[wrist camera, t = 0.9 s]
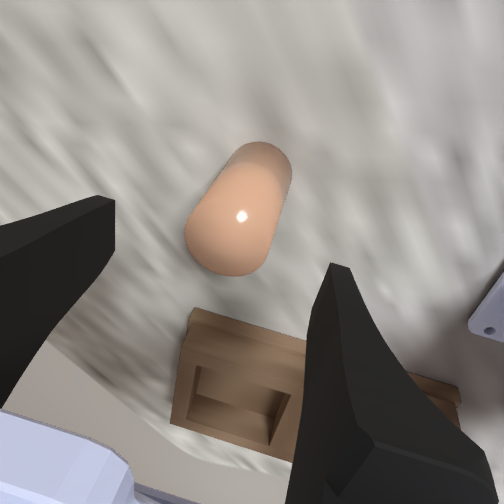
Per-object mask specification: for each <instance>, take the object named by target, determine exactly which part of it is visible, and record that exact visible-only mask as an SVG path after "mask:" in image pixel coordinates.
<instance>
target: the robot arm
mask: <svg viewBox="0 0 504 504" xmlns="http://www.w3.org/2000/svg"><path fill="white" fill-rule="evenodd" d="M114 251H115V200H113V199H109V198H106V197H103V196H99V195H96V196H92V197H89V198H85V199H82V200H79V201H76V202H74V203H71V204H68V205H65V206H62V207H59V208H56V209H53V210H50V211H48V212H45V213H42V214H39V215H35V216H32V217H29V218H25V219H22V220H19V221H15V222H12V223H9V224H5V225H1V226H0V504H199V503H196V502H193V501H190V500H187V499H184V498H181V497H177V496H175V495H172V494H168V493H165V492H162V491H159V490H156V489H153V488H150V487H147V486H144V485H141V484H138V483H135V482H134V478H133V475H132V472H131V470H130V467H129V465H128V462H127V461H126V460H125V459H124V458H123V457H121V455H119V454H118V453H117V452H116V451H115V450H114V449H112V448H111V447H109V446H107V445H105V444H102V443H100V442H98V441H96V440H94V439H92V438H90V437H87V436H83V435H80V434H77V433H74V432H71V431H68V430H65V429H62V428H59V427H56V426H52V425H49V424H46V423H43V422H40V421H37V420H34V419H31V418H27V417H24V416H22V415H18V414H15V413H12V412H9V411H6V410H3V409H1V408H2V407H3V405H4V403H5V402H6V400H7V399H8V397H9V395H10V394H11V392H12V390H13V388H14V387H15V385H16V383H17V382H18V380H19V379H20V377H21V376H22V374H23V373H24V371H25V370H26V368H27V367H28V365H29V363H30V362H31V360H32V359H33V357H34V356H35V354H36V353H37V351H38V350H39V348H40V347H41V346H42V344H43V343H44V341H45V340H46V338H47V337H48V335H49V334H50V333H51V331H52V330H53V329H54V327H55V326H56V325H57V324H58V322H59V321H60V320H61V319H62V318H63V316H64V315H65V314H66V313H67V312H68V311H69V310H70V308H71V307H72V306H73V305H74V304H75V303H76V302H77V300H78V299H79V298H80V297H81V296H82V295H83V294H84V292H85V291H86V290H87V289H88V288H89V287H90V285H91V284H92V283H93V282H94V281H95V279H96V278H97V277H98V276H99V275H100V273H101V272H102V270H103V269H104V267H105V266H106V264H107V263H108V261H109V259H110V258H111V256H112V255H113V253H114ZM467 325H468V329H469V331H470V332H471V333H473V334H476V335H479V336H482V337H486V338H489V339H492V340H496V341H499V342H503V343H504V272H503V273H502V275H501V276H500V278H499V279H498V280H497V282H496V283H495V284H494V286H493V287H492V289H491V290H490V291H489V293H488V294H487V295H486V297H485V298H484V300H483V301H482V302H481V304H480V305H479V306H478V308H477V309H476V310H475V312H474V313H473V315H472V316H471V317H470V319H469V320H468V322H467ZM488 327H492V328H491V329H486V328H488ZM498 502H499V500H498V496H497V492H496V489H495V485H494V480H493V477H492V473H491V469H490V467H489V464H488V461H487V458H486V455H485V452H484V451H483V450H482V449H481V448H480V447H479V446H478V445H477V444H476V443H474V442H473V441H472V440H471V439H470V438H469V437H468V436H467V435H466V434H464V433H463V432H462V431H461V430H460V429H459V428H458V427H457V426H456V425H455V424H453V423H452V422H451V421H450V420H449V419H448V418H447V417H446V416H445V415H444V414H443V413H442V412H441V410H440V409H439V408H438V407H437V406H436V405H435V404H434V403H433V402H432V401H431V400H430V399H429V398H428V397H427V396H426V395H425V393H424V392H423V391H422V390H421V389H420V388H419V386H418V385H417V384H416V383H415V382H414V380H413V379H412V378H411V377H410V376H409V374H408V373H407V372H406V371H405V369H404V368H403V367H402V365H401V364H400V363H399V361H398V360H397V358H396V357H395V355H394V354H393V353H392V351H391V350H390V348H389V347H388V345H387V344H386V342H385V341H384V339H383V337H382V336H381V334H380V332H379V330H378V329H377V327H376V325H375V323H374V321H373V319H372V317H371V315H370V313H369V311H368V309H367V307H366V305H365V303H364V301H363V299H362V296H361V294H360V292H359V289H358V287H357V285H356V282H355V280H354V277H353V275H352V272H351V270H350V268H348V267H345V266H341V265H338V264H334V263H331V262H330V265H329V267H328V270H327V272H326V275H325V277H324V280H323V282H322V285H321V287H320V290H319V292H318V295H317V297H316V300H315V302H314V305H313V307H312V311H311V316H310V321H309V326H308V332H307V340H306V356H305V373H304V390H303V402H302V411H301V417H300V423H299V429H298V435H297V441H296V447H295V452H294V458H293V464H292V469H291V474H290V480H289V485H288V490H287V496H286V501H285V504H498Z"/></svg>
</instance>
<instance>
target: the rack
mask: <svg viewBox="0 0 504 504" xmlns="http://www.w3.org/2000/svg"><path fill="white" fill-rule="evenodd" d="M305 356H306V341H304V340H300V339H297V338H294V337H291V336H287V335H284V334H281V333H277V332H274V331H271V330H268V329H264V328H261V327H258V326H255V325H251V324H248V323H245V322H241V321H238V320H235V319H232V318H228V317H225V316H222V315H218V314H215V313H212V312H209V311H205V310H202V309H199V308H194V310H193V312H192V314H191V316H190V318H189V324H188V330H187V336H186V338H185V341H184V343H183V345H182V347H181V351H180V358H179V364H178V371H177V378H176V385H175V392H174V398H173V405H172V412H171V419H170V424H173V425H176V426H179V427H183V428H186V429H189V430H192V431H195V432H198V433H201V434H204V435H207V436H210V437H214V438H217V439H220V440H223V441H226V442H229V443H232V444H235V445H238V446H241V447H245V448H248V449H251V450H254V451H257V452H260V453H263V454H266V455H269V456H272V457H275V458H279V459H282V460H285V461H288V462H291V463H293V458H294V452H295V447H296V441H297V435H298V429H299V423H300V417H301V411H302V402H303V390H304V373H305ZM407 373H408V374H409V376H410V377H411V378H412V379H413V380H414V382H415V383H416V384H417V385H418V386H419V388H420V389H421V390H422V391H423V392H424V393H425V395H426V396H427V397H428V398H429V399H430V400H431V401H432V402H433V403H434V404H435V405H436V406H437V407H438V408H439V409H440V410H441V412H442V413H443V414H444V415H445V416H446V417H447V418H448V419H449V420H450V421H451V422H452V423H453V424H455V425H456V426H457V427H458V428H459V429H460V430H461V428H460V423H459V419H458V415H457V410H456V408H457V407H458V405H459V404H460V403H461V398H460V394H459V390H458V387H455V386H452V385H448V384H445V383H442V382H438V381H435V380H432V379H429V378H425V377H422V376H419V375H415V374H412V373H409V372H407Z"/></svg>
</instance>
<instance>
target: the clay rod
mask: <svg viewBox="0 0 504 504" xmlns="http://www.w3.org/2000/svg"><path fill="white" fill-rule="evenodd" d="M291 180H292V169H291V165H290V162H289V160H288V158H287V157H286V155H285V154H284V153H283V152H282V151H281V150H280V149H278V148H277V147H275V146H273V145H271V144H269V143H265V142H251V143H247V144H245V145H243V146H241V147H240V148H238V149H237V150H236V151H235V153H234V154H233V155H232V157H231V158H230V160H229V161H228V162H227V164H226V165H225V167H224V168H223V169H222V171H221V172H220V174H219V175H218V177H217V178H216V179H215V181H214V182H213V184H212V185H211V186H210V188H209V189H208V191H207V192H206V194H205V195H204V196H203V198H202V199H201V201H200V202H199V203H198V205H197V206H196V208H195V209H194V211H193V212H192V213H191V215H190V216H189V218H188V220H187V222H186V225H185V233H184V235H185V241H186V245H187V247H188V249H189V251H190V253H191V254H192V256H193V257H194V258H195V259H196V261H198V262H199V263H200V264H201V265H202V266H204V267H205V268H206V269H208V270H210V271H212V272H214V273H217V274H220V275H224V276H234V277H235V276H243V275H247V274H250V273H252V272H254V271H255V270H257V269H258V268H259V267H260V266H261V265H262V264H263V263H264V261H265V259H266V258H267V255H268V252H269V249H270V246H271V243H272V240H273V236H274V233H275V230H276V227H277V224H278V221H279V218H280V215H281V212H282V209H283V206H284V203H285V200H286V196H287V193H288V190H289V187H290V184H291Z"/></svg>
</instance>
